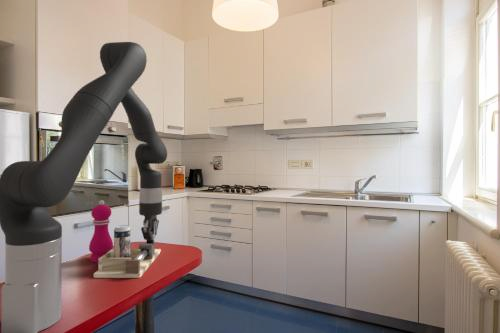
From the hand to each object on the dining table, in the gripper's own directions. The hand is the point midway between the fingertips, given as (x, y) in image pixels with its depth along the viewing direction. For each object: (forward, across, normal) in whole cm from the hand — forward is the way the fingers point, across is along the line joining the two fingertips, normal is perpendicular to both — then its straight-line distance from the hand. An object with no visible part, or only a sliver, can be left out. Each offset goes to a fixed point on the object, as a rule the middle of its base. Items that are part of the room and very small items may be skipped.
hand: (150, 249), depth 99 cm
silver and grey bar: (+1, -9, 0) cm, 9 cm away
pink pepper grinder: (+3, -2, +16) cm, 16 cm away
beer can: (+1, -11, +5) cm, 13 cm away
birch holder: (+2, -6, +4) cm, 8 cm away
